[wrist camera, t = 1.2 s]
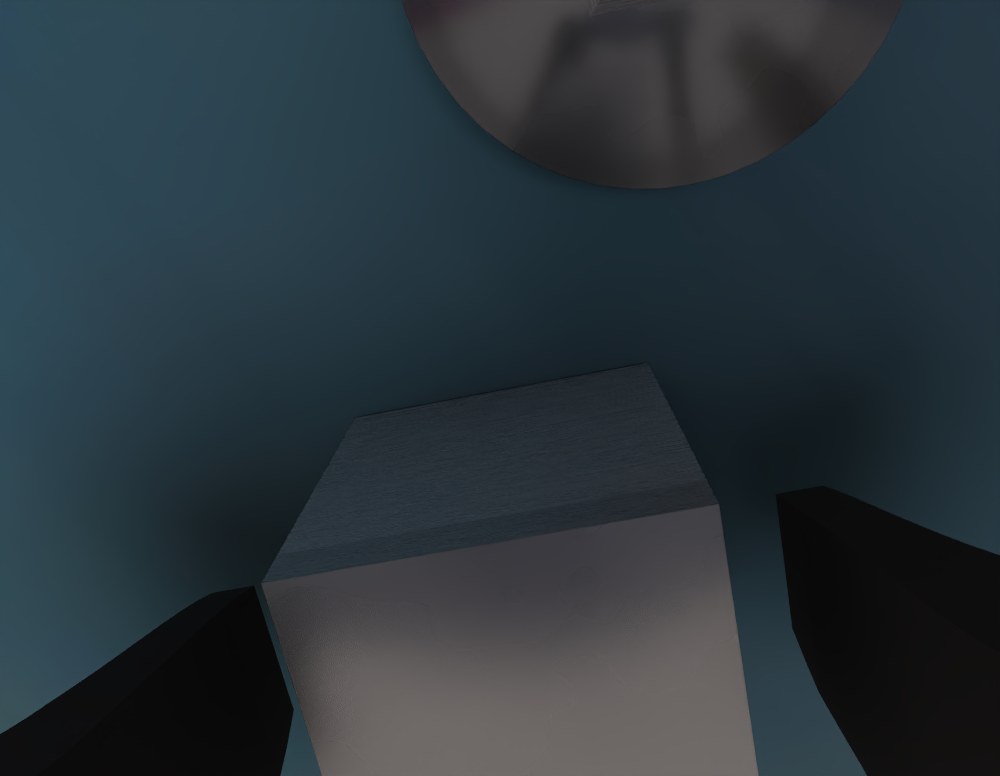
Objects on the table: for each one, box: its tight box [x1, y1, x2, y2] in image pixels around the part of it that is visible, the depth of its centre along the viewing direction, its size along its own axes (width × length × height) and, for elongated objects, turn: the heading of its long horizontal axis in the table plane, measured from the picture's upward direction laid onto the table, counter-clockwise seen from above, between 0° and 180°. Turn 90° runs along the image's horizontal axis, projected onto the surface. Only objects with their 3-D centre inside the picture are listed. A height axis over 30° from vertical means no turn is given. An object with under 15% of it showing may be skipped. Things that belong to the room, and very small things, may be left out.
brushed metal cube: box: [261, 363, 758, 776], centre depth 12 cm, size 5×5×5 cm
